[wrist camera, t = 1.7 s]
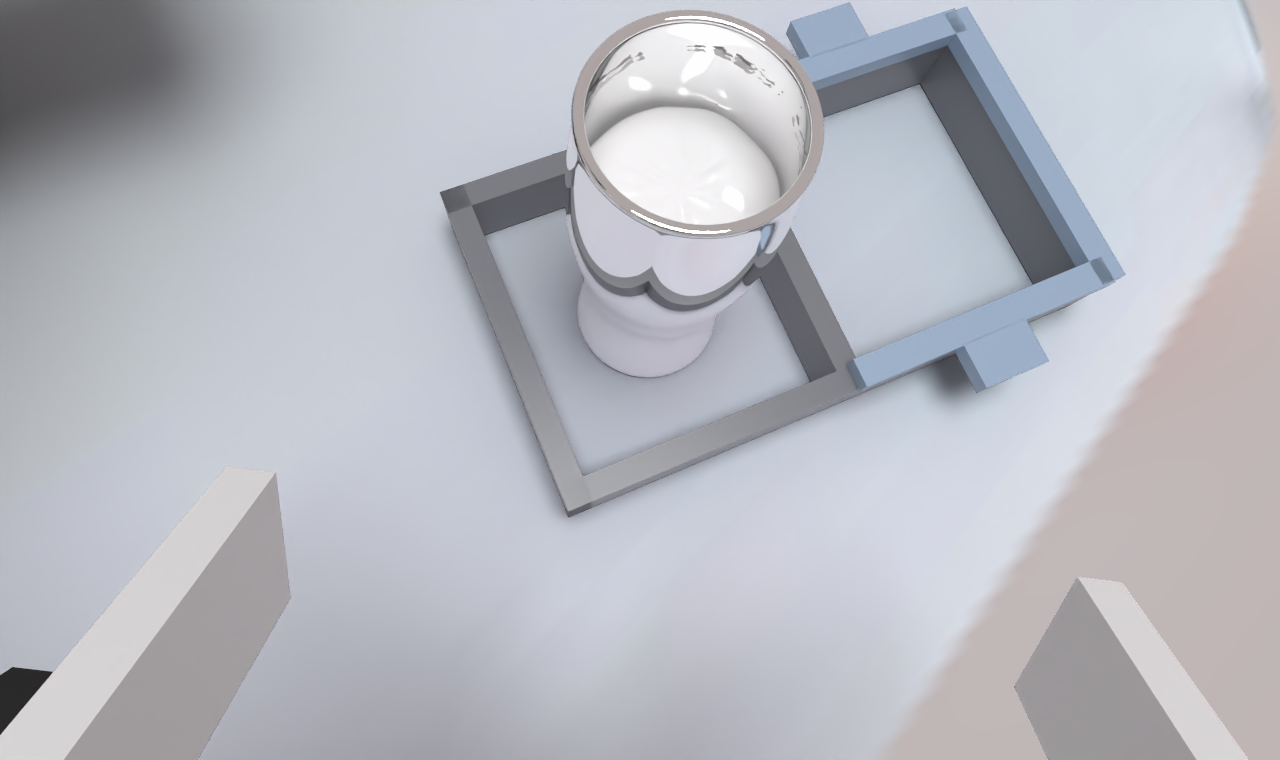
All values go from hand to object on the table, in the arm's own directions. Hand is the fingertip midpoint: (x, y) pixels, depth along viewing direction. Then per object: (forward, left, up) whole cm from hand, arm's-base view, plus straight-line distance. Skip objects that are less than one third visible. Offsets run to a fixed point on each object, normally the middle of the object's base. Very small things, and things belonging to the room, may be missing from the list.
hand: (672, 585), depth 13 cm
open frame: (-10, +12, -19) cm, 24 cm away
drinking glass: (-10, +6, -19) cm, 22 cm away
